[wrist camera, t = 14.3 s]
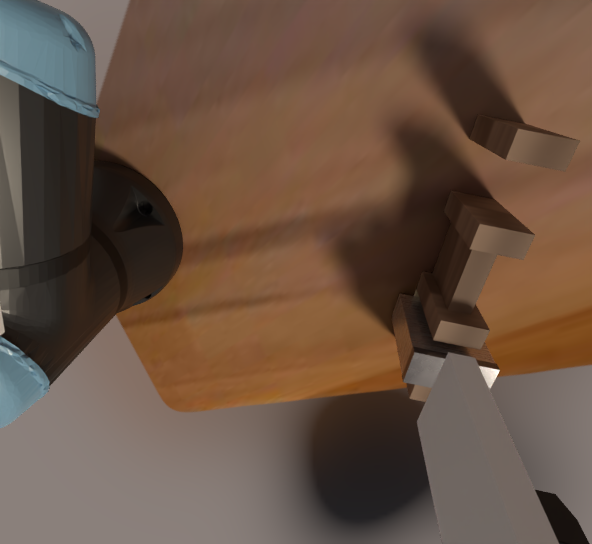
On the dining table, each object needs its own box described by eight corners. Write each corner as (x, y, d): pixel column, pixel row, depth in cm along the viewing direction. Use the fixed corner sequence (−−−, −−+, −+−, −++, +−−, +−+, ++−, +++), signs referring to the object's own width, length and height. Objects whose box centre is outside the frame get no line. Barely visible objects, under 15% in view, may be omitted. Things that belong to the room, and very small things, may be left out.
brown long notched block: (398, 339, 45) (409, 398, 37) (478, 114, 34) (518, 128, 26) (434, 347, 45) (453, 407, 37) (525, 123, 34) (579, 140, 26)
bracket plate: (391, 317, 44) (403, 382, 35) (399, 292, 42) (414, 352, 33) (456, 331, 44) (484, 399, 35) (467, 306, 42) (499, 370, 33)
